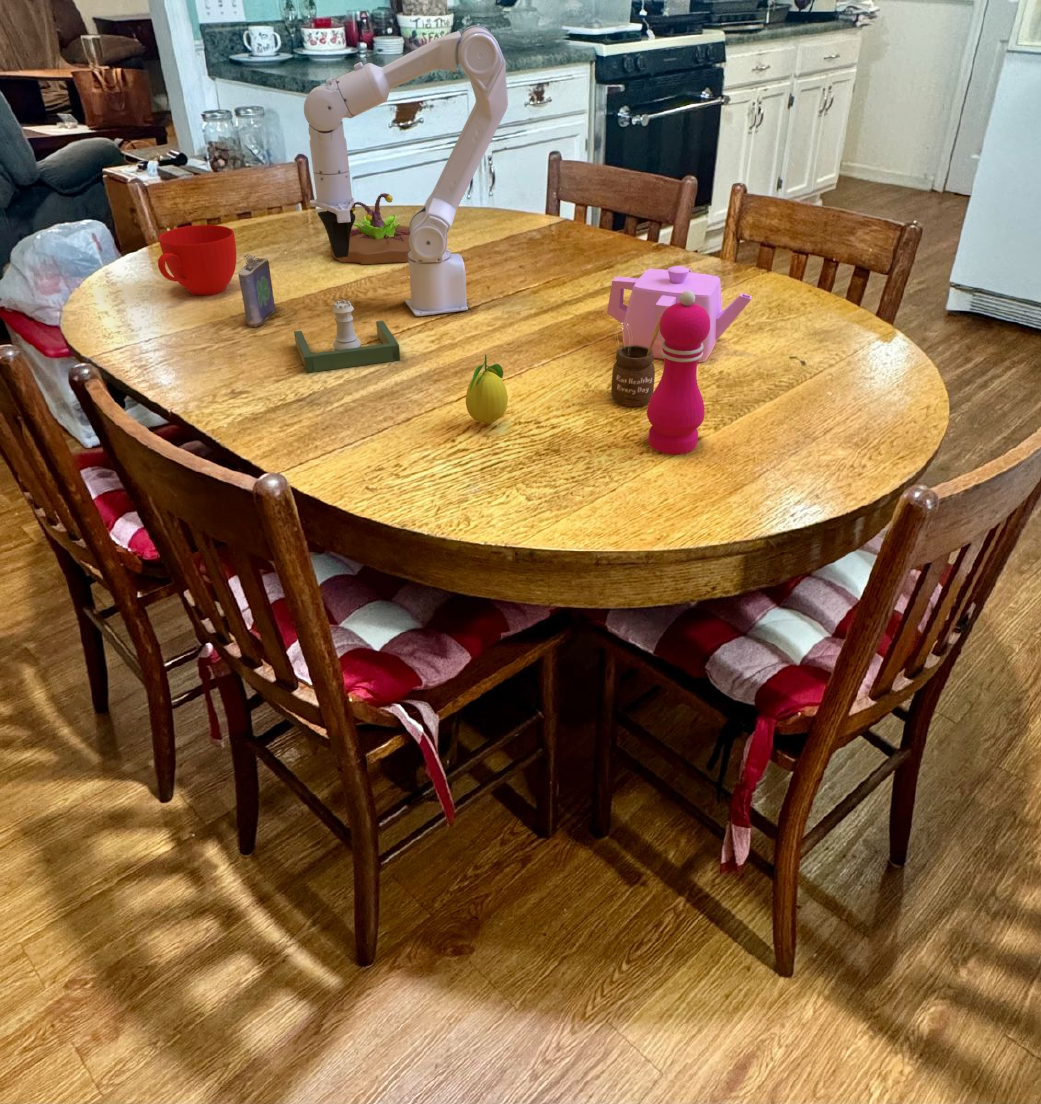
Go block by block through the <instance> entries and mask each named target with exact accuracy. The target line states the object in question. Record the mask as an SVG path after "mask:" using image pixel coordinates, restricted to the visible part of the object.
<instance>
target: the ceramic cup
mask: <svg viewBox="0 0 1041 1104" xmlns="http://www.w3.org/2000/svg"><path fill="white" fill-rule="evenodd" d="M158 242H159V246H160V249H161V252H162V254H161V255H160V256H159V257H158V261H157V265H158V270H159V272H160V274H161V275H162V276H163V277H164V278H165V279H167V280H169V281H172V282H176V283H178V284H180V285H181V287H182V288H184V289H185V290H187V292H189V293H190V294H191V295H194V296H211V295H216V294H220V293H222V292H224V291H225V290H227V287H228V286H229V284H230V282H231V281H232V278H233V277H234V275H235V272H236V267H237V245H236V236H235V232H234V230H233V229H232V228H230V227H229V226H228V227H227V226H224V225H218V224H217V225H216V224H196V225H194V224H193V225H187V226H181V227H177V228H171V229H170V230H167V231H164V232H162V233H161V234H159V236H158ZM166 266H167V267H166ZM167 268H168V270H169V272H170V273H171V274H170V273H169V272H168V270H167Z"/></svg>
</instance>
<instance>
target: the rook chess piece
mask: <svg viewBox="0 0 1041 1104" xmlns="http://www.w3.org/2000/svg"><path fill="white" fill-rule="evenodd" d="M354 309H355V308H354V306H353V305H352V303H351V301H350V300H346V299H343V300H342V302H341V301H340V300H336V302H335V301H334V302H333V307H332V309H331V311H332V312H333V313H334V314H335V318H334V321H336V336H335V337H334V338H335V340H334V342H333V344H332V346H333V350H332V351H335V350H342V349H350V348H358V347H361V345H362V343H361V340H360V339H359V338H358V335H357V334H356V331H355V328H354V323H353V321H354V317H353V315H352V314H353V311H354Z"/></svg>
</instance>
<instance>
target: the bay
mask: <svg viewBox="0 0 1041 1104" xmlns="http://www.w3.org/2000/svg"><path fill="white" fill-rule="evenodd" d="M375 325H376V336H377V337H378V339H379V341H380V342H381V343H380V344H374V345H373V344H372V345H366V346H360V347H358V348H350V349H342V350H335V351H333V350H329V351H319V352H313V353H312V351H311V349H310V347H309V345H308V343H307V340H306V338H305V336H304V332H303V331H302V330H295V331H293V336H294V341H295V342H294V343H295V347H296V351H297V352H298V355H299V357H300V360H301V362H302V365H303V367H304V370H305V372H306V374H310V373H316V372H324V371H332V370H339V369H346V368H352V367H360V366H368V365H375V364H381V363H389V362H396V361H401V352H400V344H399V343H398V341H397V340H396V338H395V337H394V335H393V334H392V332H391V330H390V329H389V328H388V326H387V324H386V322H385V321H384V320H377V321H376V322H375Z"/></svg>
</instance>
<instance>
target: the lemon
mask: <svg viewBox="0 0 1041 1104" xmlns="http://www.w3.org/2000/svg"><path fill="white" fill-rule="evenodd" d="M487 357H488V355H487V354H486V353H485V354H484V362H483V364H480V365H478V366H477V367H476V368H475V369H474V371H473V375H472V379H471V380H470V381H469V383H468V386H467V390H466V394H465V407H466V410H467V413H468V414H469V416H470V418H471V419H473V420H475V421H476V422H478V423H482V424H484V425H485V426H490V425H491V424H492V423H494V422H496V421H497V420H500V419H501V418H502V417H503V416H504V415H505V413H506V412H507V409H508V400H509V399H508V397H509V396H508V391H507V387H506V385H505V383H504V381H503V378H504V369H503V367H502V366H501V364H499V363H494V364H492V365H488V362H487V361H488V360H487V359H488V358H487ZM483 367H484V370H483V371H482V369H483ZM481 371H482V372H481Z"/></svg>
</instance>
